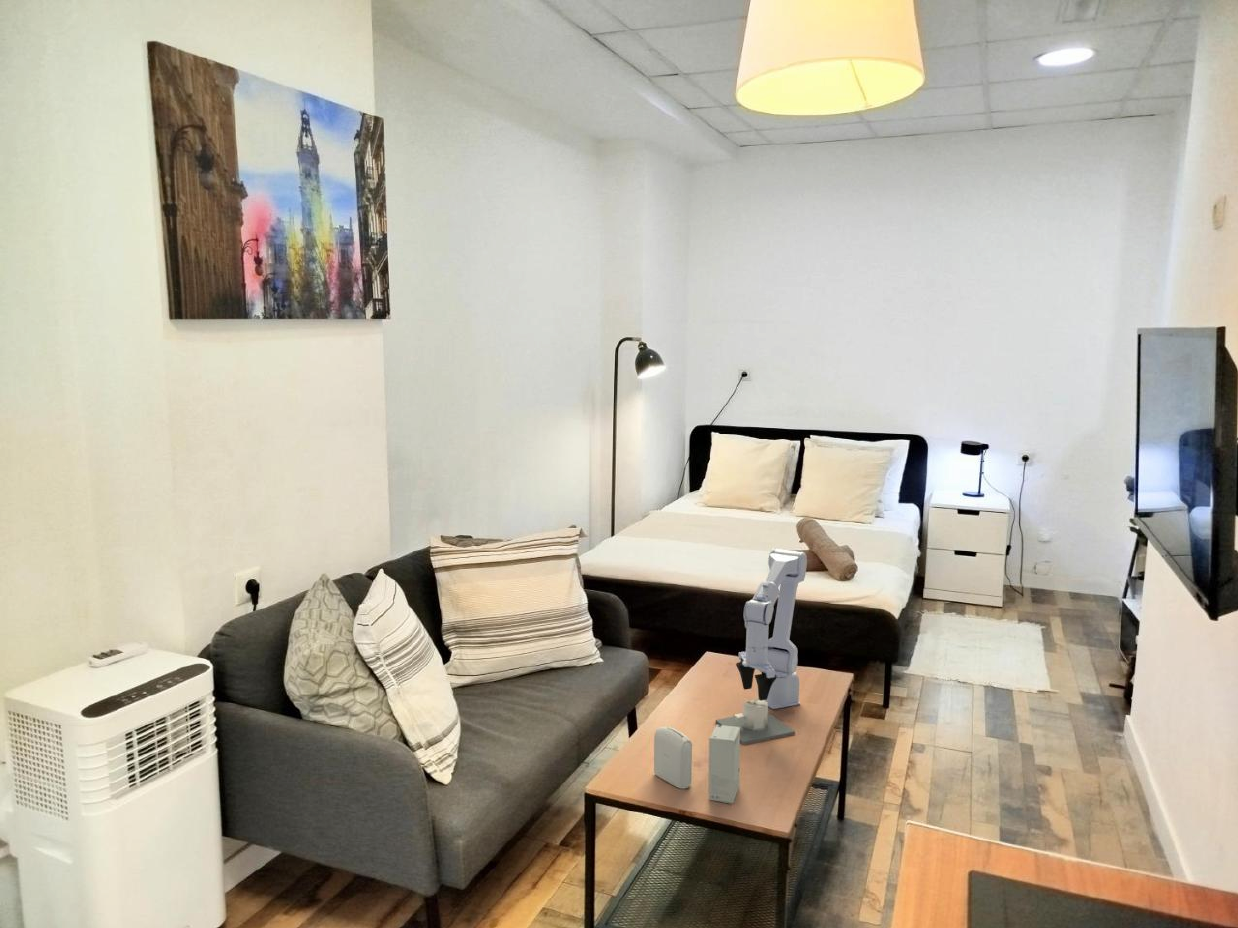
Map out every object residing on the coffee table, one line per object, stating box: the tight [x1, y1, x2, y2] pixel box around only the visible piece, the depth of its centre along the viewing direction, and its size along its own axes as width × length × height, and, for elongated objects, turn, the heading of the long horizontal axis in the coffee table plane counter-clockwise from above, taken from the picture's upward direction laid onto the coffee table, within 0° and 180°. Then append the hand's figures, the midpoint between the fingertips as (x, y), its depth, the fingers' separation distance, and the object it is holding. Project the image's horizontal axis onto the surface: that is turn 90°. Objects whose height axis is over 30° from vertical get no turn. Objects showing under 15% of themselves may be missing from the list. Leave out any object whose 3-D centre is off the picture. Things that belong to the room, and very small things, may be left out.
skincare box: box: [708, 724, 741, 805], centre depth 196 cm, size 8×6×15 cm
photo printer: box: [653, 726, 693, 790], centre depth 202 cm, size 10×4×12 cm, turn 39°
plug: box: [733, 699, 769, 729], centre depth 230 cm, size 9×4×6 cm, turn 113°
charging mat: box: [715, 711, 796, 745], centre depth 231 cm, size 16×14×1 cm
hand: (755, 693), depth 230 cm, fingers open, 7 cm apart
